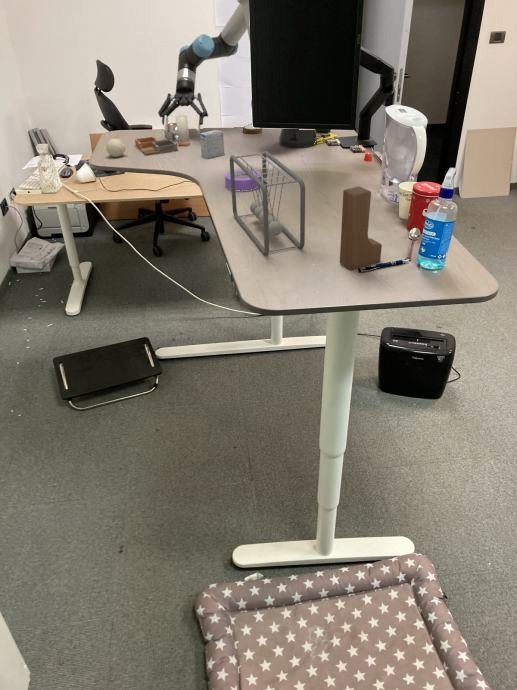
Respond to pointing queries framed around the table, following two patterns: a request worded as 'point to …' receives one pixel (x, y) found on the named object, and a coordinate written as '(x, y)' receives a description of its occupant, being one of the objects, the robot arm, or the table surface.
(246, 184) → the masking tape
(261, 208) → the newton's cradle
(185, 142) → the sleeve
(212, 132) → the medicine box
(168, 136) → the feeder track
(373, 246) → the wooden block
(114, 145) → the baseball
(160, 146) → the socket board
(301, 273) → the table surface
